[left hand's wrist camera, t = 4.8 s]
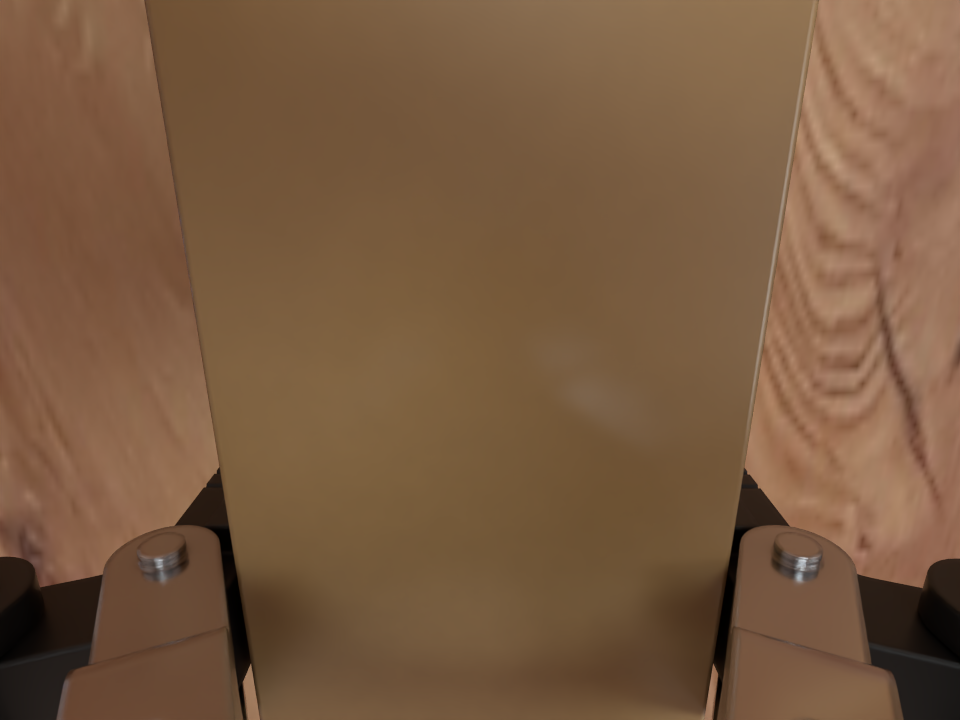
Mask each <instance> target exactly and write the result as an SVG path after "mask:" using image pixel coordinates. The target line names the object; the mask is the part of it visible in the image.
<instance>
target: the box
mask: <svg viewBox="0 0 960 720" xmlns="http://www.w3.org/2000/svg"><path fill="white" fill-rule="evenodd" d="M818 2H819V0H145V6H146V13H147V19H148V25H149V31H150V37H151V44H152V50H153V56H154V62H155V69H156V75H157V81H158V87H159V93H160V100H161V106H162V112H163V118H164V125H165V131H166V137H167V143H168V149H169V156H170V162H171V168H172V174H173V180H174V187H175V193H176V199H177V205H178V212H179V218H180V224H181V230H182V236H183V243H184V249H185V255H186V261H187V268H188V274H189V280H190V286H191V292H192V299H193V305H194V311H195V317H196V323H197V330H198V336H199V342H200V348H201V355H202V361H203V367H204V373H205V379H206V386H207V392H208V398H209V404H210V411H211V417H212V423H213V429H214V435H215V442H216V448H217V454H218V460H219V466H220V473H221V479H222V485H223V491H224V498H225V504H226V510H227V516H228V522H229V529H230V535H231V541H232V547H233V554H234V560H235V566H236V572H237V578H238V585H239V591H240V597H241V603H242V609H243V616H244V622H245V628H246V634H247V641H248V647H249V653H250V659H251V665H252V672H253V678H254V684H255V690H256V696H257V703H258V709H259V715H260V720H704V717H705V710H706V704H707V698H708V692H709V685H710V679H711V673H712V666H713V660H714V654H715V648H716V641H717V635H718V629H719V623H720V616H721V610H722V604H723V598H724V591H725V585H726V579H727V573H728V566H729V560H730V554H731V547H732V541H733V535H734V529H735V522H736V516H737V510H738V504H739V497H740V491H741V485H742V479H743V472H744V466H745V460H746V453H747V447H748V441H749V435H750V428H751V422H752V416H753V410H754V403H755V397H756V391H757V385H758V378H759V372H760V366H761V360H762V353H763V347H764V341H765V334H766V328H767V322H768V316H769V309H770V303H771V297H772V291H773V284H774V278H775V272H776V266H777V259H778V253H779V247H780V240H781V234H782V228H783V222H784V215H785V209H786V203H787V197H788V190H789V184H790V178H791V172H792V165H793V159H794V153H795V147H796V140H797V134H798V128H799V121H800V115H801V109H802V103H803V96H804V90H805V84H806V78H807V71H808V65H809V59H810V53H811V46H812V40H813V34H814V27H815V21H816V15H817V9H818Z"/></svg>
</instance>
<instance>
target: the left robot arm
mask: <svg viewBox="0 0 960 720" xmlns="http://www.w3.org/2000/svg"><path fill="white" fill-rule="evenodd" d="M250 664H251V659H250V653H249V647H248V641H247V634H246V628H245V622H244V616H243V609H242V603H241V597H240V591H239V585H238V578H237V572H236V566H235V560H234V554H233V547H232V541H231V535H230V529H229V522H228V516H227V510H226V504H225V498H224V491H223V485H222V479H221V473H220V467H219V469H218V470H217V474H214V475H213V476H212V478H211V479H210V480H209V482H208V483H207V487H206V488H203V489H202V491H201V492H200V493H199V495H198V496H197V497H196V499H195V500H194V501H193V503H192V504H191V505H190V506H189V508H188V509H187V510H186V512H185V513H184V514H183V516H182V517H181V518H180V519H179V521H178V522H177V523H176V525H175V526H171V527H165V528H161V529H157V530H154V531H151V532H148V533H145V534H143V535H141V536H138V537H136V538H134V539H133V540H131V541H129V542H127V543H126V544H124V545H123V546H121V547H120V548H119V549H118V550H117V551H115V552H114V553H113V554H112V556H111V557H110V558H109V559H108V561H107V563H106V564H105V568H104V571H103V575H99V576H95V577H90V578H85V579H80V580H75V581H70V582H65V583H60V584H55V585H50V586H45V587H40V586H39V582H38V579H37V575H36V572H35V569H34V567H33V565H32V564H31V563H30V562H28V561H26V560H24V559H21V558H16V557H0V720H248V713H247V705H246V697H245V691H244V685H243V680H244V678H245V676H246V673H247V671H248V669H249V666H250ZM713 664H714V666H715V668H716V670H717V672H718V679H717V685H716V691H715V697H714V705H713V713H712V720H960V559H946V560H941V561H938V562H936V563H934V564H933V565H931V566H930V568H929V570H928V572H927V576H926V579H925V582H924V586H923V588H919V587H914V586H909V585H904V584H899V583H894V582H889V581H884V580H879V579H874V578H870V577H865V576H862V575H858V574H857V571H856V567H855V564H854V563H853V561H852V559H851V558H850V557H849V556H848V554H847V553H846V552H845V551H843V550H842V549H841V548H840V547H839V546H837V545H836V544H834V543H833V542H831V541H829V540H827V539H826V538H824V537H822V536H819V535H817V534H815V533H812V532H809V531H806V530H803V529H799V528H795V527H790V526H789V525H788V523H787V522H786V521H785V520H784V518H783V517H782V516H781V514H780V513H779V512H778V510H777V509H776V508H775V507H774V505H773V504H772V503H771V501H770V500H769V499H768V498H767V496H766V495H765V494H764V492H763V491H762V490H761V489H758V485H757V483H756V482H755V481H754V480H753V478H752V477H751V476H750V475H747V471H746V469H745V468H744V472H743V479H742V485H741V491H740V497H739V504H738V510H737V516H736V522H735V529H734V535H733V541H732V547H731V554H730V560H729V566H728V573H727V579H726V585H725V591H724V598H723V604H722V610H721V616H720V623H719V629H718V635H717V641H716V648H715V654H714V660H713Z"/></svg>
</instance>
